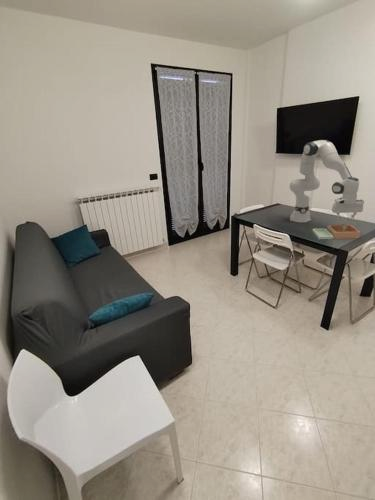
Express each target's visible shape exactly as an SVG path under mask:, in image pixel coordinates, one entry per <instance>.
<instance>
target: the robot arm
mask: <svg viewBox="0 0 375 500" xmlns="http://www.w3.org/2000/svg"><path fill="white" fill-rule="evenodd" d="M318 155H319V156H320V158H321V161H322V164H323V165H324V167H325V168H327V169H331V170H335V171H336V172H337V173H339V176H340V178H341V180H338V181H335V182H334V183H333V184H332V185H331V186H332V187H331V191H332V193H333V194H334V195H342V196H341V197H339V198H335V199H334V203H333V205H332V209H331V211H332V213H334V214H336V215H337V219H341V217H342V215H340V214H343V213H353V214H351V215H350V216H351V217H350V218H352V219H354V218H355V216H356V215H357V213H362V212H363V211H364V204H365V200H364V199H357V197H358V191H359V188H360V187H359V186H360V181H359V178H357V177H353V176H352V174H351V172H350V171H349V168H348V167H347V165H346V163H345V162H344V161H343V159H342V158H341V157H340V154H338V151H337V149H336V146H335V145H334V144H333V142H331V141H329V140H328V139H319V140H313V141H310V142H306V143H305V144H304V146H303V152H302V155H301V159H300V165H299V172H300V174H302V175H303V176H304V178H299V179H295V180H292V181H290V183H289V189H290V191H291V192H292V193H293V194H294V195H295V206H294V210H293V211H292V212H290V215H289V221H290V222H295V223H308V222H310V221H312V219H311V212H310V197H309V196H308V195H307V194H305V192H310V191H315V190H317V189H319V188H320V185H321V182H320V180H319V178H317V177H316V175H315V171H314V170H315V163H316V157H317V156H318Z"/></svg>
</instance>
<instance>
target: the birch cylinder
mask: <svg viewBox="0 0 375 500" xmlns="http://www.w3.org/2000/svg"><path fill="white" fill-rule="evenodd" d="M340 225H341V228H340V232H346V228H347V225H348V224H346V223H341V224H340Z"/></svg>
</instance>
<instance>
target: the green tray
mask: <svg viewBox="0 0 375 500" xmlns="http://www.w3.org/2000/svg"><path fill="white" fill-rule="evenodd" d="M312 233H313V234H314V236H315V237H316V238H317V240H318V241H320V240H334V236H333V235H332V234H331V233H330V232H329V231H328V230H327V228H312Z"/></svg>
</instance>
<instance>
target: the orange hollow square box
mask: <svg viewBox="0 0 375 500" xmlns="http://www.w3.org/2000/svg"><path fill="white" fill-rule="evenodd" d="M346 225H347V228H346V232H340V228H341V224H328V225H327V228H326V229H327V230H328V231H329V232H330V233H331V234H332V235H333V236H334V238H333V240H334V239H335V240H337V239H338V240H339V239H340V240H341V239H343V240H344V239H345V240H346V239H347V240H348V239H351V240H352V239H360V237H361V236H360V235H361V231H359V230H358V228H356V227H354V226H353V225H352V224H346Z"/></svg>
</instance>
